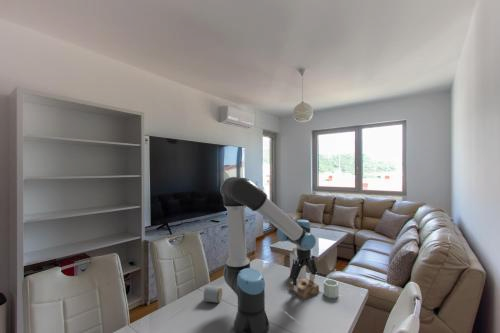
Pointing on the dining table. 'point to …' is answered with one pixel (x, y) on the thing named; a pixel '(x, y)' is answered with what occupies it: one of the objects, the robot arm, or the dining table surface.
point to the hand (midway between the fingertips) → (304, 287)
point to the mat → (300, 296)
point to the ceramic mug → (212, 294)
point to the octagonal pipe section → (331, 288)
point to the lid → (305, 288)
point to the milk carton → (303, 270)
